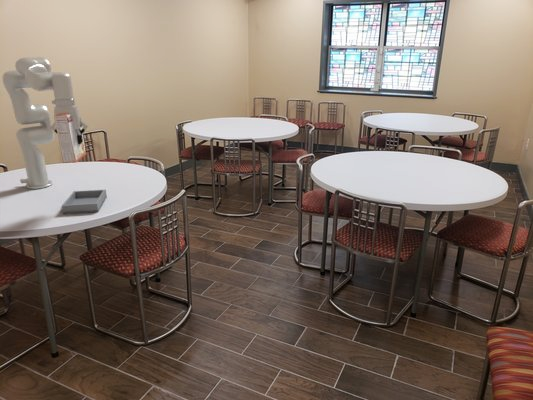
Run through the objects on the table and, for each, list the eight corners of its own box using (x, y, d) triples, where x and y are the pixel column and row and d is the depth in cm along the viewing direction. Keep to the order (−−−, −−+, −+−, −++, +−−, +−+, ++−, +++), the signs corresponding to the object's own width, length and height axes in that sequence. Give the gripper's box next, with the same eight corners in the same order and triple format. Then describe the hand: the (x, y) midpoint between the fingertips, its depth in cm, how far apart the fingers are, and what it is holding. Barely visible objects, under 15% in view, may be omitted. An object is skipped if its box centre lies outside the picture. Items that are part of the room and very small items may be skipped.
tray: (63, 214, 183) (61, 205, 181) (75, 198, 201) (73, 191, 200) (98, 211, 185) (97, 203, 184) (106, 197, 204) (105, 189, 202)
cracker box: (73, 155, 191) (65, 110, 184) (86, 155, 192) (79, 110, 184) (61, 163, 178) (53, 115, 171) (76, 163, 179) (67, 114, 171)
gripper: (40, 104, 172) (49, 146, 178) (84, 103, 174) (90, 145, 180) (47, 102, 179) (54, 142, 185) (88, 101, 181) (94, 141, 187)
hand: (72, 143), depth 183 cm, fingers closed on cracker box, 6 cm apart
